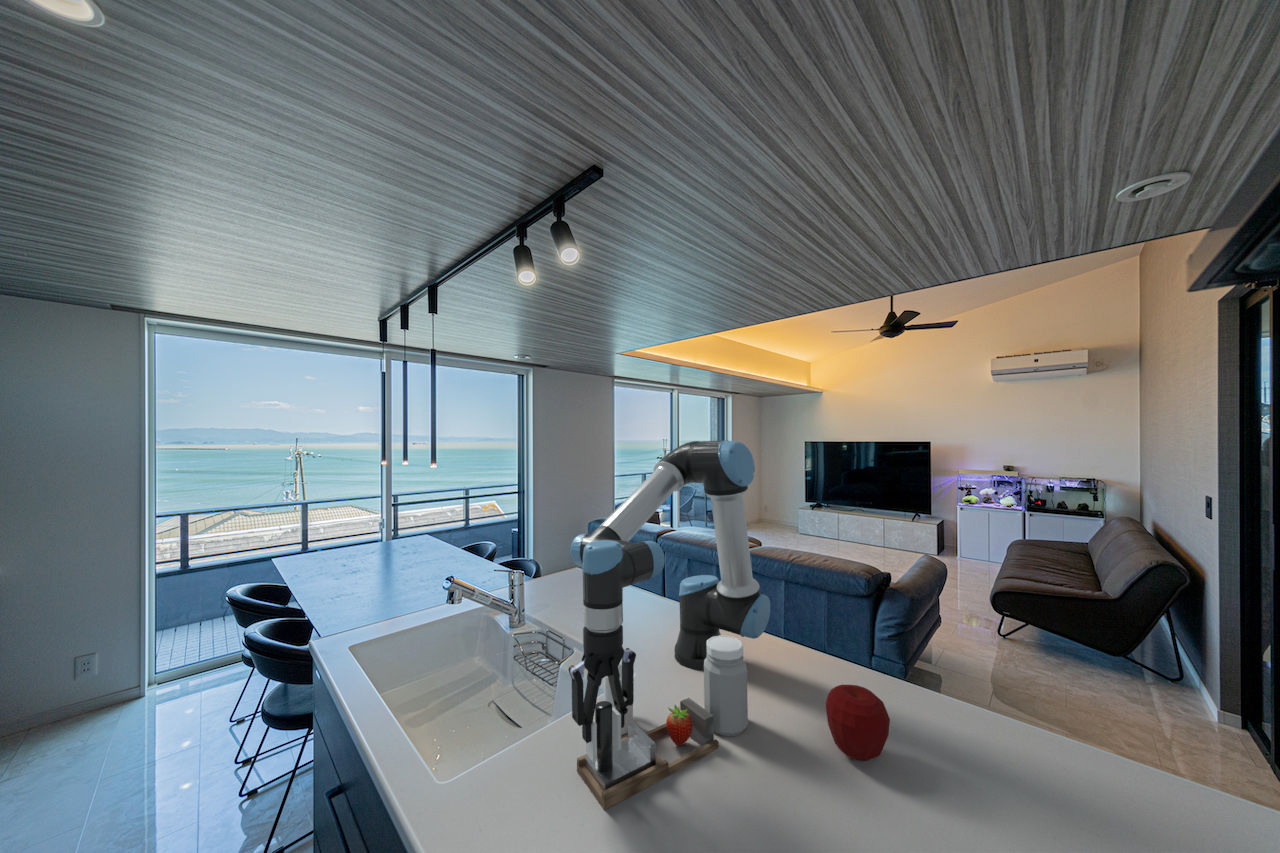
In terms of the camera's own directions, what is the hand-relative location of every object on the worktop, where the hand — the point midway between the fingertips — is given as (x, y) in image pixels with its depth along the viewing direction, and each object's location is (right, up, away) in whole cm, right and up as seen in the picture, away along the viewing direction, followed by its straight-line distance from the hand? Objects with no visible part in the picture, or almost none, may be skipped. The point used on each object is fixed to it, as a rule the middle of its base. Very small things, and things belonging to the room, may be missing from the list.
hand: (604, 751), depth 82 cm
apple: (+51, -6, +6) cm, 52 cm away
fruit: (+15, -6, +10) cm, 19 cm away
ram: (+3, -4, +2) cm, 5 cm away
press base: (+9, -6, +6) cm, 12 cm away
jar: (+26, -6, +16) cm, 32 cm away
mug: (+3, -7, +18) cm, 19 cm away
